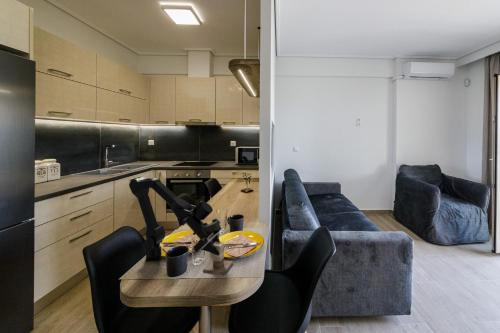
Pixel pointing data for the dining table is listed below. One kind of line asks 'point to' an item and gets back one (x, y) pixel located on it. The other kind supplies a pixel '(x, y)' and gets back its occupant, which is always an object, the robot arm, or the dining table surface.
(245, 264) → the dining table surface
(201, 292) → the dining table surface
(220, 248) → the birch block
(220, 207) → the dining table surface
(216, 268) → the walnut stand
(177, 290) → the dining table surface
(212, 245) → the robot arm
